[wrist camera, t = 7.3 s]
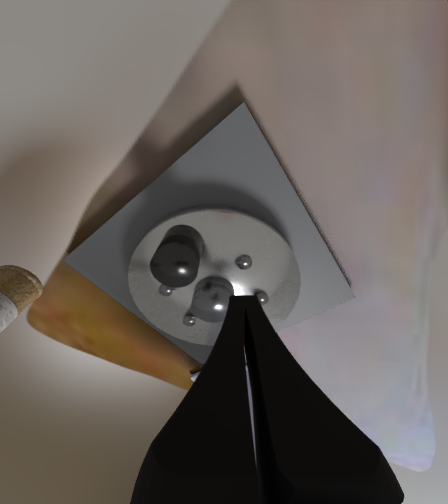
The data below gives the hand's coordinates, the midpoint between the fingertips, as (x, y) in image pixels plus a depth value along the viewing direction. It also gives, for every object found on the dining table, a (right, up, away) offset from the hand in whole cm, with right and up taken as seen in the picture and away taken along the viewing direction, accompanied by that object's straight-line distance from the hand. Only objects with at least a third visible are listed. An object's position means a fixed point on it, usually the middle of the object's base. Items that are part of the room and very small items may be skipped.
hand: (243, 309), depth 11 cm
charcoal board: (-2, +1, +10) cm, 11 cm away
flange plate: (-1, 0, +10) cm, 10 cm away
